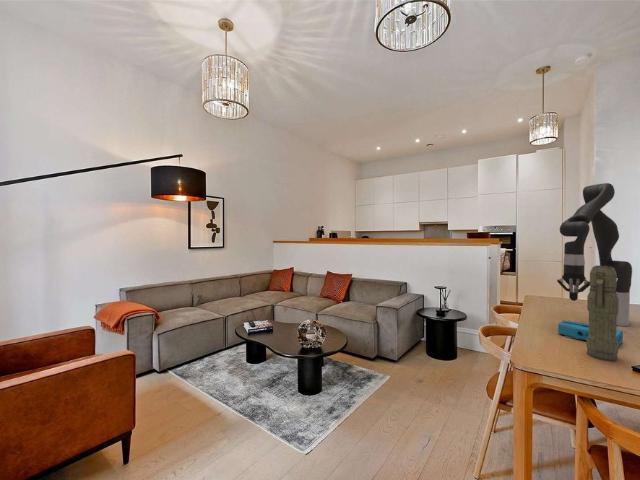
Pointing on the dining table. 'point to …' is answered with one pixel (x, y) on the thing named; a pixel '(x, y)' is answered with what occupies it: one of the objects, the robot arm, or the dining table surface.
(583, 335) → the block
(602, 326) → the olive green pouch
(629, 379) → the dining table surface
